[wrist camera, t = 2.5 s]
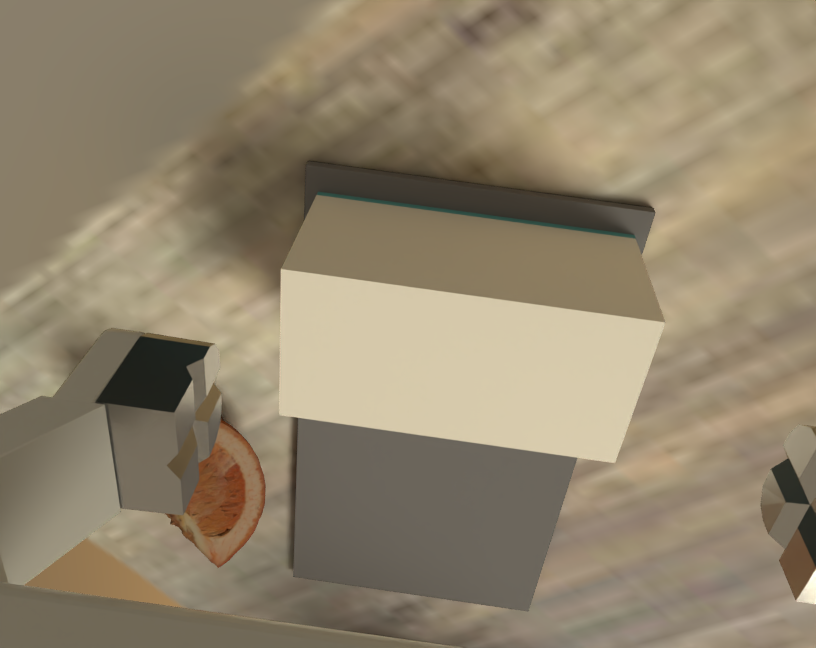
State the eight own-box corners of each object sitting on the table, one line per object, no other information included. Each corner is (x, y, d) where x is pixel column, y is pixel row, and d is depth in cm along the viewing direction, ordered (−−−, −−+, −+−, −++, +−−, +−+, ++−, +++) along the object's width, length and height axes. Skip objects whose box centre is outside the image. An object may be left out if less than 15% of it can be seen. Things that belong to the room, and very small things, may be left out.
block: (634, 234, 28) (665, 322, 23) (595, 362, 31) (615, 463, 26) (318, 191, 28) (280, 269, 23) (312, 322, 32) (279, 415, 27)
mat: (653, 208, 28) (655, 212, 27) (528, 605, 41) (528, 611, 41) (308, 160, 28) (305, 165, 28) (294, 570, 41) (293, 576, 41)
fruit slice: (93, 396, 36) (41, 471, 32) (200, 345, 33) (159, 417, 29) (202, 508, 39) (168, 588, 35) (306, 468, 37) (282, 549, 33)
